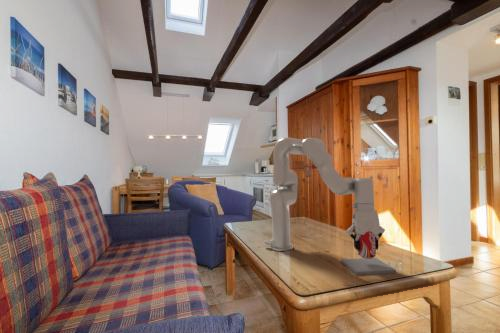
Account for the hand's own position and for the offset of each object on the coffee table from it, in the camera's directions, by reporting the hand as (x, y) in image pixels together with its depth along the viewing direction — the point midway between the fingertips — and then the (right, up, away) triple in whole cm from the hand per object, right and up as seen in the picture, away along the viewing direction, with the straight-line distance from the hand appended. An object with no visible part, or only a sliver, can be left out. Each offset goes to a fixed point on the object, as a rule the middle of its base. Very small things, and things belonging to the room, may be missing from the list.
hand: (366, 248), depth 103 cm
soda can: (0, -3, 0) cm, 3 cm away
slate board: (0, -8, 0) cm, 8 cm away
